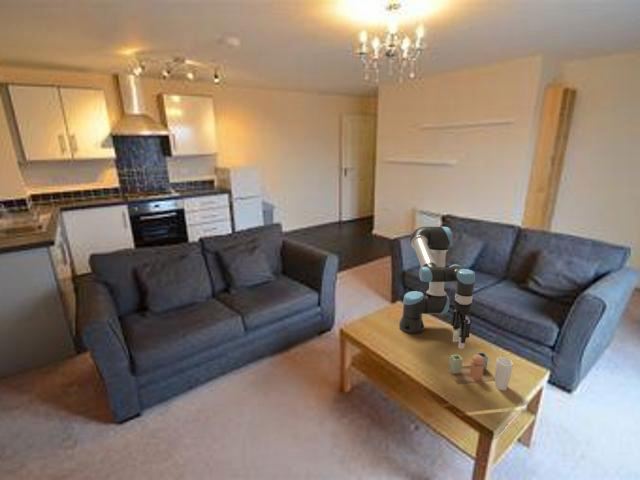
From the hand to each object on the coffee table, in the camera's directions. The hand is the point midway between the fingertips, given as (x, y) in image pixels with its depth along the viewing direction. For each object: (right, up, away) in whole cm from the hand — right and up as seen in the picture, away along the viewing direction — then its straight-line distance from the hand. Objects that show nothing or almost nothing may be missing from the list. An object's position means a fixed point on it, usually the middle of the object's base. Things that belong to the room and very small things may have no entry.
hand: (458, 344), depth 165 cm
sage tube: (0, -15, +4) cm, 16 cm away
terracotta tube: (+8, -16, 0) cm, 18 cm away
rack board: (+7, -17, +2) cm, 18 cm away
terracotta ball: (+8, -9, -3) cm, 12 cm away
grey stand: (+14, -14, +6) cm, 21 cm away
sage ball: (0, +3, -1) cm, 3 cm away
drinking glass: (+18, -19, -6) cm, 27 cm away
